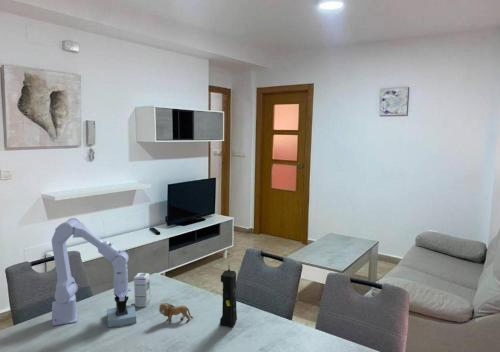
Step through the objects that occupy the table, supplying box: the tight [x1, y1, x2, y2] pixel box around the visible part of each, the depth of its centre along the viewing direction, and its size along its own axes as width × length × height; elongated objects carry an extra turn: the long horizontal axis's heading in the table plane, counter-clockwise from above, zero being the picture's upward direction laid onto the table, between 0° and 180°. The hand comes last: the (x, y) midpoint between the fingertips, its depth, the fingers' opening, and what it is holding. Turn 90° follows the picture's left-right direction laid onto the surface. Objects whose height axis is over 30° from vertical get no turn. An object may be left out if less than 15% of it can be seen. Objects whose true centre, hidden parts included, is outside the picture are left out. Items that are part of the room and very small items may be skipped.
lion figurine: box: [158, 302, 194, 324], centre depth 167 cm, size 15×5×9 cm, turn 110°
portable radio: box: [219, 264, 238, 328], centre depth 165 cm, size 8×6×25 cm
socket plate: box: [106, 304, 137, 328], centre depth 168 cm, size 12×12×3 cm
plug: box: [115, 302, 127, 316], centre depth 167 cm, size 4×4×6 cm
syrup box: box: [133, 272, 151, 308], centre depth 182 cm, size 6×6×14 cm
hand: (121, 310), depth 168 cm, fingers closed on plug, 4 cm apart
